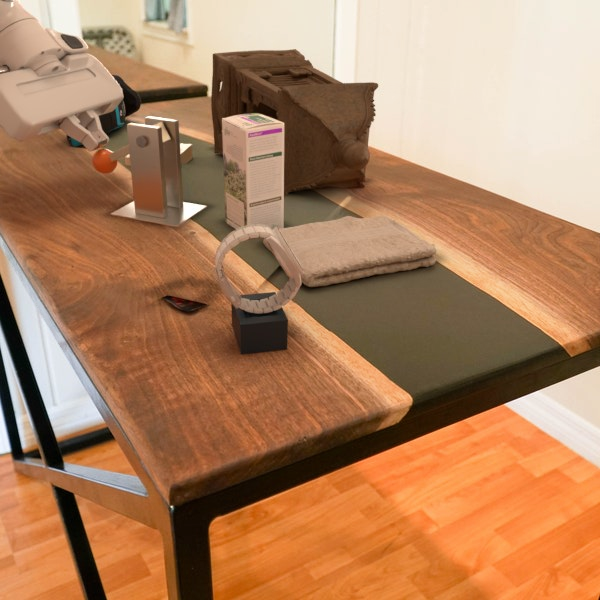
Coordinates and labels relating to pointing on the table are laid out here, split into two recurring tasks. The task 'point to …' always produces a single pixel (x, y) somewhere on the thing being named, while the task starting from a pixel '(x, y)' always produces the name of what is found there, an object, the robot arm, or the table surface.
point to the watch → (263, 306)
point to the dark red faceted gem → (183, 303)
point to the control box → (185, 154)
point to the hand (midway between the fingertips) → (100, 146)
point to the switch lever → (117, 154)
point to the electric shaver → (116, 111)
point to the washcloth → (355, 249)
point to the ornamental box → (298, 114)
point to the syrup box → (253, 170)
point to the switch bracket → (156, 175)
